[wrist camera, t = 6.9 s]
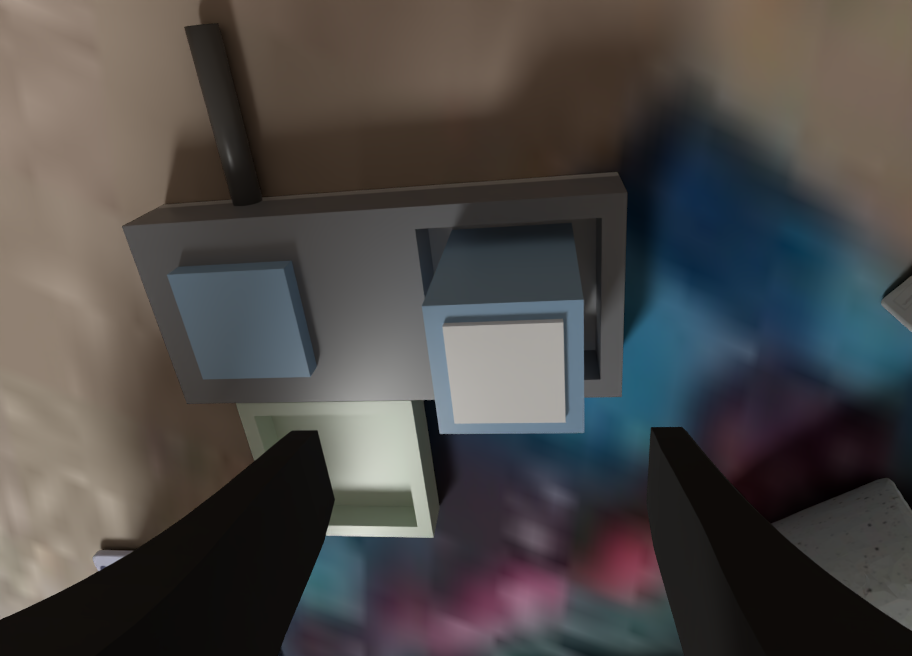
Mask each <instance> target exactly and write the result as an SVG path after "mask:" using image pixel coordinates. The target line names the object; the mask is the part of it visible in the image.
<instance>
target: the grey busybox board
mask: <svg viewBox="0 0 912 656" xmlns="http://www.w3.org/2000/svg"><path fill="white" fill-rule="evenodd" d="M184 28H185V32H186V35H187V39H188V43H189V46H190V50H191V53H192V57H193V61H194V64H195V68H196V72H197V75H198V79H199V83H200V86H201V90H202V93H203V97H204V101H205V104H206V108H207V112H208V115H209V119H210V122H211V126H212V130H213V133H214V137H215V141H216V144H217V148H218V151H219V155H220V159H221V162H222V166H223V170H224V173H225V177H226V181H227V184H228V188H229V191H230V195H231V199H232V200H219V201H205V202H191V203H177V204H164V205H162V206H160V207H158V208H156V209H154V210H152V211H150V212H148V213H146V214H144V215H143V216H141V217H139V218H137V219H135V220H133V221H131V222H129V223H127V224H125V225H123V226H122V228H123V231H124V233H125V236H126V239H127V242H128V244H129V247H130V250H131V252H132V255H133V258H134V261H135V263H136V266H137V269H138V271H139V274H140V277H141V280H142V282H143V285H144V288H145V291H146V293H147V296H148V299H149V301H150V304H151V307H152V310H153V312H154V315H155V318H156V320H157V323H158V326H159V329H160V331H161V334H162V337H163V340H164V342H165V345H166V348H167V350H168V353H169V356H170V359H171V361H172V364H173V367H174V369H175V372H176V375H177V378H178V380H179V383H180V386H181V389H182V391H183V394H184V397H185V399H186V402H187V404H205V403H267V402H329V401H391V400H435V397H434V390H433V383H432V376H431V369H430V361H429V354H428V347H427V340H426V333H425V326H424V319H423V312H422V304H423V302H424V299H425V297H426V294H427V292H428V289H429V286H430V284H431V281H432V279H433V276H434V274H435V271H436V269H437V266H438V264H439V261H440V259H441V256H442V254H443V251H444V248H445V246H446V243H447V241H448V238H449V236H450V233H451V231H452V230H457V229H474V228H491V227H508V226H524V225H541V224H558V223H572V228H573V235H574V241H575V248H576V254H577V260H578V267H579V273H580V280H581V286H582V293H583V299H584V397H622V364H623V329H624V294H625V259H626V224H627V191H626V189H625V187H624V185H623V182H622V180H621V178H620V176H619V174H618V172H608V173H594V174H580V175H567V176H553V177H539V178H525V179H511V180H497V181H483V182H469V183H455V184H442V185H428V186H414V187H400V188H386V189H372V190H358V191H344V192H330V193H316V194H303V195H289V196H275V197H262V195H261V191H260V187H259V183H258V179H257V175H256V171H255V167H254V163H253V159H252V155H251V151H250V147H249V143H248V139H247V135H246V131H245V127H244V123H243V119H242V115H241V111H240V107H239V103H238V99H237V95H236V91H235V87H234V83H233V79H232V75H231V71H230V67H229V63H228V59H227V55H226V51H225V48H224V44H223V40H222V36H221V32H220V28H219V24H218V23H215V24H203V25H194V26H187V27H184Z"/></svg>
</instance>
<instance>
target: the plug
mask: <svg viewBox="0 0 912 656" xmlns="http://www.w3.org/2000/svg"><path fill="white" fill-rule="evenodd" d="M422 312H423V319H424V326H425V333H426V340H427V347H428V354H429V361H430V369H431V376H432V383H433V390H434V397H435V404H436V411H437V418H438V425H439V432H440V434H504V433H584V299H583V293H582V286H581V280H580V273H579V267H578V260H577V254H576V248H575V241H574V235H573V228H572V223H558V224H541V225H524V226H508V227H491V228H474V229H457V230H452V231H451V233H450V236H449V238H448V241H447V243H446V246H445V248H444V251H443V254H442V256H441V259H440V261H439V264H438V266H437V269H436V271H435V274H434V276H433V279H432V281H431V284H430V286H429V289H428V292H427V294H426V297H425V299H424V302H423V304H422Z"/></svg>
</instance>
